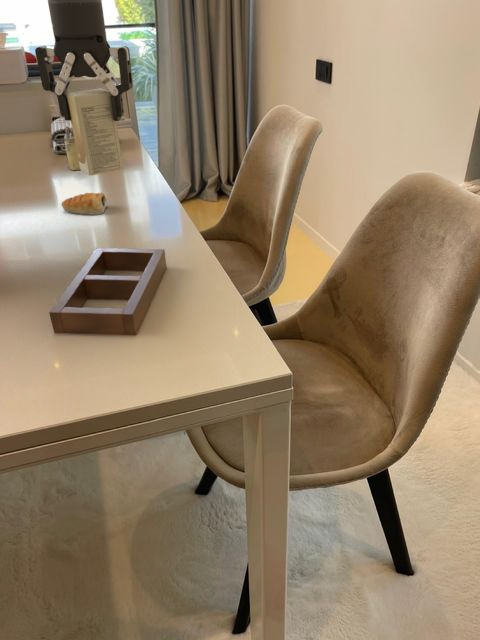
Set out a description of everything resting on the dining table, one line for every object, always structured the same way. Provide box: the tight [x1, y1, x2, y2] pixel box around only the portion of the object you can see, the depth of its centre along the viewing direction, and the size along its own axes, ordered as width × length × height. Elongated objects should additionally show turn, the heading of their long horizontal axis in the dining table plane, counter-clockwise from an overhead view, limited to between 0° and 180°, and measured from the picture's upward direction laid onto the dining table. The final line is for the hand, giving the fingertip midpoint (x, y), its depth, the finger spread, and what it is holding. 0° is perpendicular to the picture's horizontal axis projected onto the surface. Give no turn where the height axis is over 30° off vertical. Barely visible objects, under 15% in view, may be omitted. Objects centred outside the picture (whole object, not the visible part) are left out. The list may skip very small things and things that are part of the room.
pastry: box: [61, 191, 109, 216], centre depth 122 cm, size 9×7×4 cm
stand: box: [48, 247, 167, 336], centre depth 86 cm, size 12×22×5 cm, turn 177°
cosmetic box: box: [66, 87, 124, 176], centre depth 91 cm, size 6×4×12 cm
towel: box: [50, 117, 72, 155], centre depth 166 cm, size 15×18×8 cm
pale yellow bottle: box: [64, 126, 81, 171], centre depth 148 cm, size 7×4×10 cm, turn 15°
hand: (93, 119), depth 90 cm, fingers closed on cosmetic box, 7 cm apart
